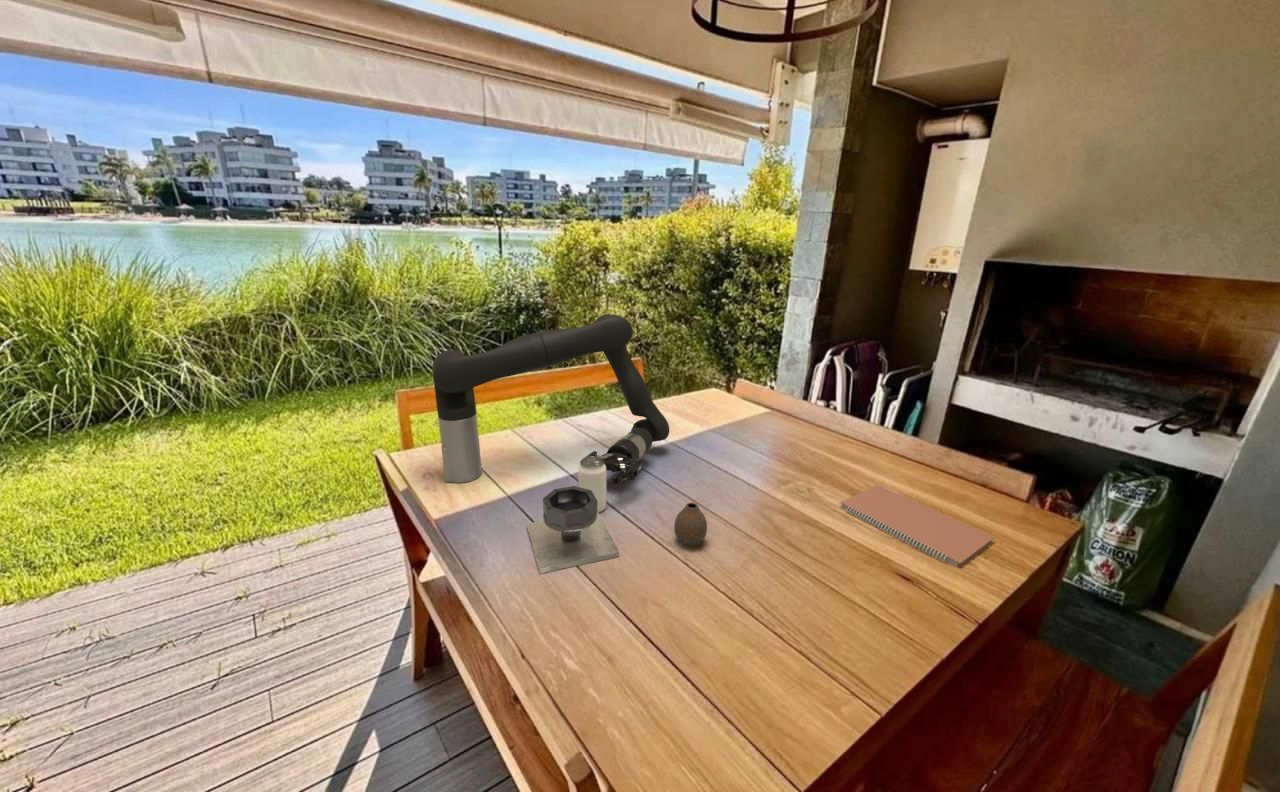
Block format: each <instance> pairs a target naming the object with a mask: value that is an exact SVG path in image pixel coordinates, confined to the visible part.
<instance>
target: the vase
mask: <svg viewBox="0 0 1280 792" xmlns="http://www.w3.org/2000/svg"><path fill="white" fill-rule="evenodd" d="M707 521H708V520H707V518H706V515H704V513H703V512H702V510H701V509H700V508H699V505H698V503H695V502H688V503H686V504H685V506H684V508H682V509H681V510H680V511H679V512H678V513H677V514H676V517H675V519H674V524H673V525H674V527H673V528H674V534H675V537H676V538H677V541H679V543H680V544H682V545H684V546H685V547H696V546H698V545H700V544H701V543H702V542H703V541H704V540H705V537H706V535H707V532H708V522H707Z"/></svg>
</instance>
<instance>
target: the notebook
mask: <svg viewBox="0 0 1280 792" xmlns="http://www.w3.org/2000/svg"><path fill="white" fill-rule="evenodd" d="M839 504H841V505H840V506H839V508H841V509H842V510H844V511H846V514H849V515H851V517H854V518H856V517H857V518H856V519H858V520H859V519H860V521H862V522H863V523H864V522H865V523H866V524H868V525H869V526H870V525H871V527H874V528H875V529H876V527H877V530H879V528H880V531H881V532H882V530H883V533H885V531H886V534H887V535H888V536H892V537H893V538H895V539H898V540H899V541H901V542H902V543H903V542H904V544H907V543H908V544H907V545H908V546H910V545H911V548H913V547H914V549H915V550H917V549H918V551H920V550H921V552H922V553H924V554H925V555H926V554H927V555H928V556H931V557H932V558H934V557H935V558H934V559H935V560H938V561H939V562H941V560H942V564H945V562H946V563H947V564H950V565H951V566H953V567H955V568H957V569H960V568H962V567H963V566H964V565H965V564H966V563H968V562H969V561H971V560H972V559H973V558H974V557H975V556H977V555H979V554H980V553H981V552H982V551H984V550H985V549H987V548H988V547H989V546H991V544H993V543H994V542H993V541H992V540H994V539H995V536H992V535H991V534H988V533H986V532H984V531H981V530H979V529H976V528H974V527H972V526H970V525H968V524H966V523H963V522H961V521H960V520H956V519H955V518H953V517H949V516H948V515H946V514H943V513H940V512H938V511H937V510H934V509H932V508H929V507H928V506H925V505H923V504H920V503H918V502H916V501H915V500H912V499H909V498H907V497H905V496H903V495H901V494H899V493H896V492H894V491H893V490H889V489H888V488H885V487H883V486H880V485H878V484H876V485H873V486H872V487H870V488H869V487H868V488H867V489H865V490H863V491H861V492H859V493H857V494H854V495H853V496H851V497H849V498H846V499H845V500H842V501H840V502H839ZM894 536H895V537H894Z"/></svg>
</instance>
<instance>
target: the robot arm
mask: <svg viewBox="0 0 1280 792" xmlns="http://www.w3.org/2000/svg"><path fill="white" fill-rule="evenodd" d="M633 332H634V331H633V327H632V324H631V323H630V321H629V320H628V319H627V318H625V317H624V316H622V315H618V314H609V313H608V314H602V315H600V316H598V317H597V318H596V319H595V321H594V322H593V323H590V324H587V325H583V326H579V327H571V328H570V327H569V328H559V329H548V330H543V331H538V332H533V333H530V334H525V335H522V336H518V337H516V338H514V339H511V340H509V341H507V342H505V343H504V344H502V345H499V347H496V348H493V349H492V350H488V351H485V352H480V353H475V354H471V355H466V354H464V353H463V352H461V351H459V350H454V349H451V350H450V349H448V350H445V351H442V352H440V353H439V354H437V356H436V357H435V358H434V360H433V362H432V369H431V370H432V378H433V385H434V392H435V403H436V405H435V406H436V411H437V418H438V427H439V434H440V435H439V436H440V444H441V455H442V462H443V463H442V465H443V471H444V472H443V473H444V481H445V483H456V484H459V483H467V482H472V481H474V480H476V479H478V478H479V477H481V476H482V474H483V469H482V465H483V464H482V458H481V447H480V438H479V437H480V436H479V425H478V416H477V414H478V413H477V405H476V404H477V403H476V398H475V391H474V388H476V387H479V386H481V385H484V384H486V383H489V382H492V381H496V380H498V379H502V378H509V377H513V376H516V375H520V374H524V373H528V372H532V371H533V372H534V371H537V370H541V369H544V368H548V367H551V366H554V365H555V366H556V365H559V364H561V363H565V362H567V361H571V360H573V359H576V358H579V357H582V356H585V355H590V354H595V353H601V352H603V354H604V356H605V357H606V359H607V361H608V363H609V365H610V366H611V368H612V370H613V373H614V375H615V377H616V380H617V383H618V384H619V387H620V389H621V392H622V394H623V396H624V399H625V402H626V403H627V406H628V408H629V411H630V413H631V415H633V416H636V417H641V418H643V419H640V420H637V421H636V422H634V424H633V426H632V428H631V430H630V431H629V432H628V433H627V434H626V435H624V436H622V437H621V438H620V439H618V440H617V441H616V442H615V443H613V444H612V445H611V446H610V447H609V448H608V450H607V451H606V453H604V454H602V455H600V454H598V451H596V450H595V451H594V450H593V451H592V452H590V453H588V455H586V456H585V457H583V458H586V457H592V456H594V457H600V458H602V459H603V460H604V464H605V466H606V471H608V472H611V473H612V472H613V473H616V472H617V473H616V474H615V475H613V476H612V482H611V484H612V486H615V487H616V486H617V485H619V484H621V483H622V482H623V481H627V479H628V480H629V481H634V480H635V479H636V478H637V477H638V475H640V473H641V471H642V461H640V459H641V458H642V457H643V456H644V454H646V452H648V450H649V449H651V446H652V444H653V443H654V442H655V443H656V442H661V441H664V440H666V439H667V438H668V437H669V435H670V424H669V422H668V420H667V418H666V417H665V415H664V414H663V413H662V412H661V411H660V410H659V408H658V406H657V405H656V404H655V403H654V401H653V399H652V396H651V393H650V391H649V388H648V387H647V384H646V381H645V380H644V378H643V376H642V375H641V373H640V372H639V370H638V368H637V367H636V365H635V364H634V361H633V360H632V358H631V355H630V353H629V351H628V348H627V345H628V344H629V343H630V341H632V337H633Z"/></svg>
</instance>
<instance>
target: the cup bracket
mask: <svg viewBox="0 0 1280 792" xmlns="http://www.w3.org/2000/svg"><path fill="white" fill-rule="evenodd" d="M542 512H543V513H542V514H543V520H537V521H533V522H529V523H526V530H527V532H528V536H529V540H530V543H531V547H532V550H533V553H534V558H535V561H536V564H537V568H538V571H539V574H540V575H541V574H545V573H549V572H554V571H559V570H564V569H568V568H572V567H577V566H582V565H587V564H590V563H591V564H592V563H595V562H599V561H604V560H609V559H614V558H617V557H620V551H619V549H618V547H617V545H616V543H615V541H614V540H613V538H612V536H611V534H610V532H609V530H608V529H607V526H606V524H605V523H604V520H603V519H602V517H601V515H600V514H599V513H600V512H599V513H598V512H597V499H596V497H595V496H594V494H593V492H592V490H588V489H584V488H580V487H579V486H576V485H570V486H566V487H559V488H554V489H553V490H551V491H550V492H549V493H548V494H546V495H545V496H544V497H543V498H542Z"/></svg>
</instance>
